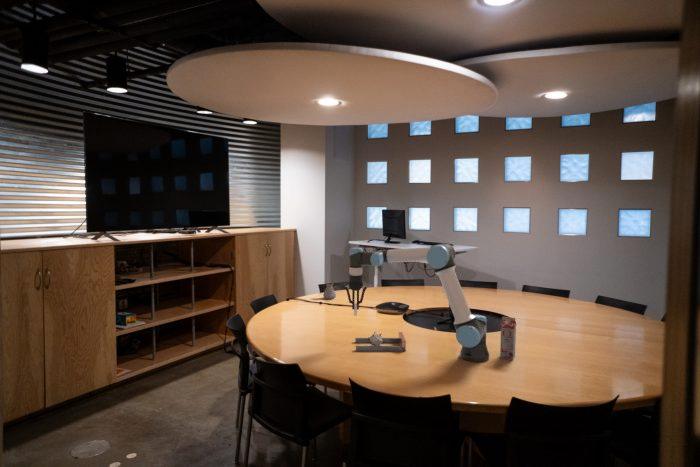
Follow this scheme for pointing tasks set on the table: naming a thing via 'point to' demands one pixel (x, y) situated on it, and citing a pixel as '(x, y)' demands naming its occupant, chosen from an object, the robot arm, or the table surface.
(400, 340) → the guide channel
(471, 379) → the table surface
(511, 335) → the juice carton
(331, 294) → the coffee pot
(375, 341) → the spiky grey ball
